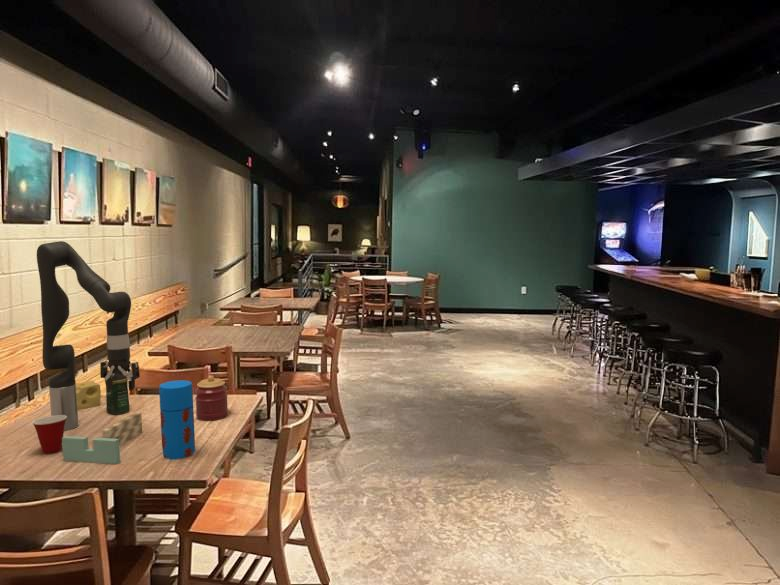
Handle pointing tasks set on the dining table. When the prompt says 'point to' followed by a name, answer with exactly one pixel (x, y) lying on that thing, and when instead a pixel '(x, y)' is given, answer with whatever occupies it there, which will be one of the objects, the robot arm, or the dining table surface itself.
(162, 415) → the thermos
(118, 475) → the dining table surface
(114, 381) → the coffee jar
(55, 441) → the plastic cup
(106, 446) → the sage green notched block
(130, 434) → the brass bar
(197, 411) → the canister
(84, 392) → the cheese
